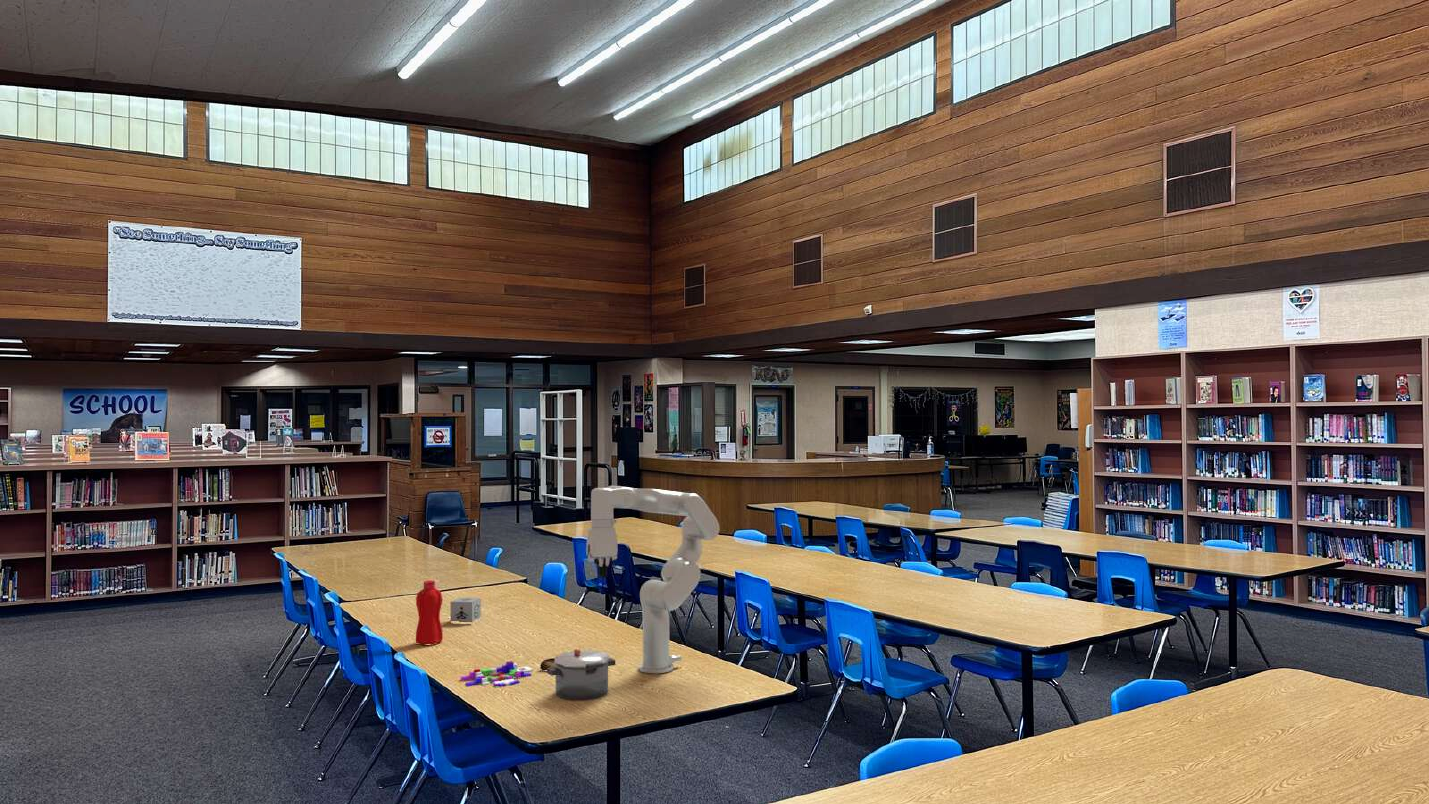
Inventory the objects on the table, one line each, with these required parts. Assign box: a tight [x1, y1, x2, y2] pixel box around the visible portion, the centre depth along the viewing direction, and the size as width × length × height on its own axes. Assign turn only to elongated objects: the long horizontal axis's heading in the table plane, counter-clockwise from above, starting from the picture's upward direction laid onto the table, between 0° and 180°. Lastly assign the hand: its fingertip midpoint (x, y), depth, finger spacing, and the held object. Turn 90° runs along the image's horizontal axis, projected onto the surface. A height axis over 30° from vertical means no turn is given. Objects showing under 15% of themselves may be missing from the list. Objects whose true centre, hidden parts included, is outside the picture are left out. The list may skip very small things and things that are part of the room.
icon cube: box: [450, 596, 482, 622], centre depth 403 cm, size 10×10×10 cm
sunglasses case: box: [539, 657, 556, 671], centre depth 327 cm, size 18×7×7 cm
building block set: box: [460, 660, 534, 687], centre depth 312 cm, size 25×20×4 cm
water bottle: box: [415, 580, 444, 645], centre depth 363 cm, size 9×11×25 cm
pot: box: [546, 657, 616, 702], centre depth 295 cm, size 23×18×10 cm
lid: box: [554, 648, 610, 669], centre depth 294 cm, size 18×20×3 cm
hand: (602, 577), depth 309 cm, fingers closed
